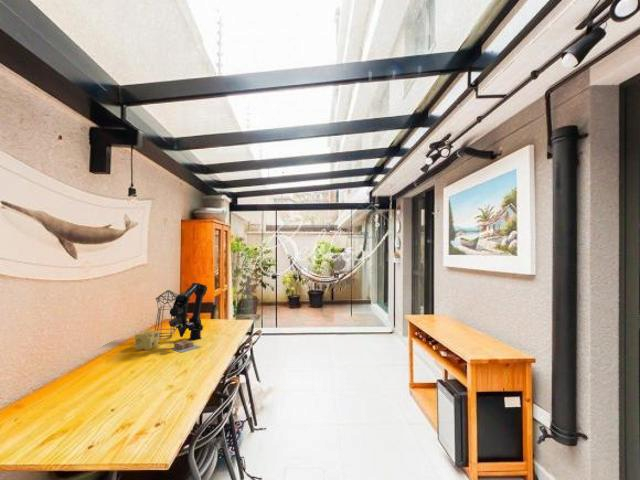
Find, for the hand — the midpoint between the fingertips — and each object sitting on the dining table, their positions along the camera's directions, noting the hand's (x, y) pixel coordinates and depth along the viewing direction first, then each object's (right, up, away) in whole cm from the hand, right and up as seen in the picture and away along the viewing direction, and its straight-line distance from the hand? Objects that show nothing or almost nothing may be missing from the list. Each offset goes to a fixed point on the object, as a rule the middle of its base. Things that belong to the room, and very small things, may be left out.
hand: (181, 336), depth 205 cm
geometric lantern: (-20, -7, +21) cm, 30 cm away
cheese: (-22, -6, -3) cm, 23 cm away
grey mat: (+4, -7, -3) cm, 8 cm away
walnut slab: (-2, -5, +1) cm, 5 cm away
